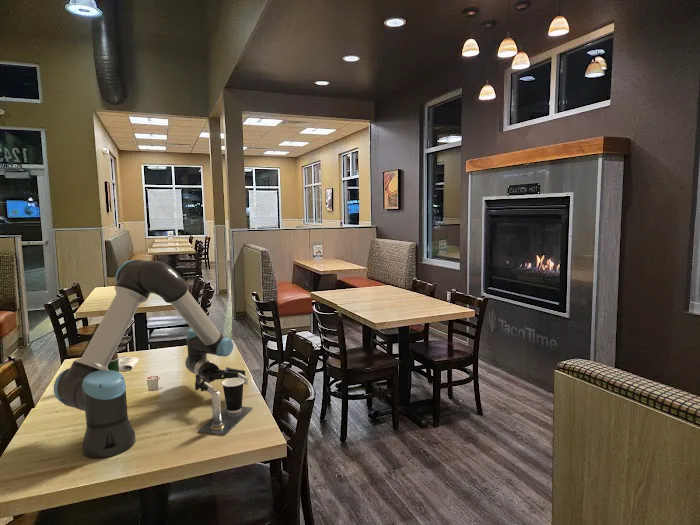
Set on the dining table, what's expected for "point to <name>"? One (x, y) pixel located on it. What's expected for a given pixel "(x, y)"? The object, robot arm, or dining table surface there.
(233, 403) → the dixie cup
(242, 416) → the plate
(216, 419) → the post
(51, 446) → the dining table surface
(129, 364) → the folded newspaper
